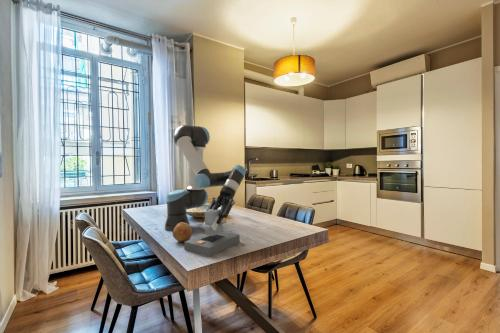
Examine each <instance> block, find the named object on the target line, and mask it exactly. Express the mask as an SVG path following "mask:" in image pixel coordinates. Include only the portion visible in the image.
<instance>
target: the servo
mask: <svg viewBox="0 0 500 333" xmlns="http://www.w3.org/2000/svg"><path fill="white" fill-rule="evenodd" d="M220 210H221V209H213V210H212V209H209V211H206V210H205V211H204V222H205V224H204V223H203V224H204V225H203V224H202V225H200V228H201V229H204V234H205V235H210V236H214V235H217V234H220V233H222V232H224V230H223V229H224V228H223V225H224V224H227V220H223V219H222V220H221V222H220V224H218V226H217V228H216V230H215V231H214V230H213V229H212V228H211V227H212V225H213V223H214V221H215V219H216V217H217V216H219V215H218V214H220Z"/></svg>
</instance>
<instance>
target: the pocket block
mask: <svg viewBox="0 0 500 333" xmlns="http://www.w3.org/2000/svg"><path fill="white" fill-rule="evenodd" d="M240 239H241V237H240V234H239V233H234V232H227V231H223V232H222V233H220V234H217V235H214V236H210V235H205V233H204V234H202V235H199V236H196V237H194V238H190V239H189V240H188V241H184V242H183V243H184V251H187V252H191V253H194V254H197V255H202V256H203V257H204V256H205V257H209V258H211V257H213V256H215V255H217V254H219V253H221V252H222V251H225V250H227V249H229V248H231V247H233V246H235V245H237V244H239V243H241V242H240V241H241V240H240Z"/></svg>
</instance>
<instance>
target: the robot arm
mask: <svg viewBox="0 0 500 333" xmlns="http://www.w3.org/2000/svg"><path fill="white" fill-rule="evenodd" d="M210 137H211V136H210V132H209V130H208V129H207V128H206V127H203V126H199V125H198V126H197V125H196V126H195V125H187V124H183V125H180V126H178V127H177V128H176V129H175V131H174V133H173V142H174V144H175V146H176V147H177V148H178V149H180V151H181V152H182V155H183V156H184V157H185V159H186V161H187V162H188V164H189V170H188V171H189V174H188V175H189V178H188V181H189V182H188V186H187V187H186V189H176V190H173V191H170V192H167V194H166V208H167V209H166V212H167V215H166V216H167V217H166V220H165V224H164V230H165V231H170V232H173V230H174V228H175V227H176V225H177V224H179V223H181V222H184V223H187V224H189V225H190V224H191V223H190V221H189V218H188V217H189V216H188V214H187V210H191V209H196V208H197V209H198V208H202V207H203V206H205V205H206V204H207V203H208V200H209V195H208V192H207V190H206V188H213V187H222V188H221V189H220V192H219V195H218V196H217V197H212V200H211V202H210V203H209V205H208V206H207V209H206V210H205V212H206V211H209V209H212V210H213V209H217V210H220V214H218V215H219V216H217V217H216V219H215V221H214V223H213V225H212V227H211V228H212V229H213V230H214V231H215V230H216V228H217V226H218V224H220V222H221V220H223V219H228V217H229V214H230V212H231V210H232V208H233V206H234V205H235V204H236V202H235V200H234V197H235V195H236V193H237V191H238V189H239V187H240V186H241V183H242V182H243V180H244V178H245V175H246V173H247V171H246V168H244V166H242V165H240V164H235V165H234V166H233V167H232V170H229V171H224V172H211V171H210V169H209V168H208V166H207V165H206V163H205V161H204V150H205V148H206V145H208V144H209V142H210V140H211V138H210ZM219 208H220V209H219ZM204 224H205V221H204V222H203V223H202V225H204ZM190 226H191V225H190Z"/></svg>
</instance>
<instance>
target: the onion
mask: <svg viewBox="0 0 500 333" xmlns="http://www.w3.org/2000/svg"><path fill="white" fill-rule="evenodd" d="M172 235H173V238H174V239H175V240H176V241H177V242H179V243H184V242H185V241H188V240H191V237H192V235H193V228H192V226H191V225H189V224H187V223H184V222H181V223H179V224H177V225H176V227H175V228H174V230H173V231H172Z"/></svg>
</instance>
